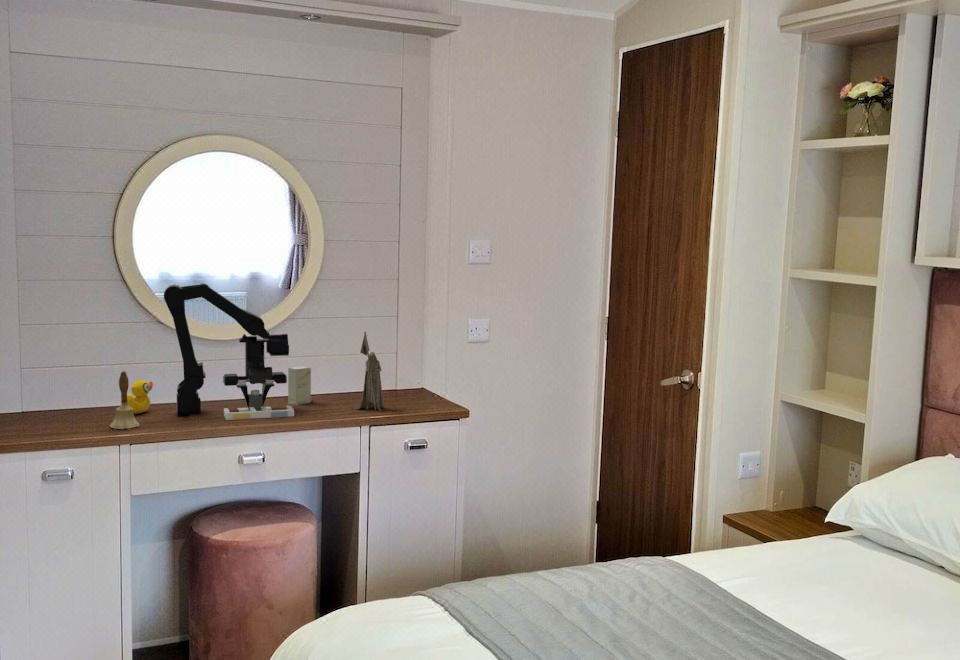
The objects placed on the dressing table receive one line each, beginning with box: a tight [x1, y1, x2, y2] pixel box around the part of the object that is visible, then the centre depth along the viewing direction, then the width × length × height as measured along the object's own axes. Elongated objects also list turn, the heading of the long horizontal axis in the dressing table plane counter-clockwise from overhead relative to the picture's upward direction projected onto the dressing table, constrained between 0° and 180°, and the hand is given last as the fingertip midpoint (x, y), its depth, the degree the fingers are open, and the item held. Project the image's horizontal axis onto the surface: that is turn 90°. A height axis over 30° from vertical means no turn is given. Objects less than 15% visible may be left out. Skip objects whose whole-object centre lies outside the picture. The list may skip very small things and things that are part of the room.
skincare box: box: [287, 365, 312, 406], centre depth 306 cm, size 6×4×12 cm
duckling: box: [127, 379, 154, 415], centre depth 288 cm, size 11×5×10 cm, turn 158°
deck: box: [237, 406, 273, 412], centre depth 294 cm, size 10×7×1 cm
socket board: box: [223, 404, 295, 421], centre depth 284 cm, size 20×11×2 cm, turn 110°
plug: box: [247, 389, 264, 411], centre depth 294 cm, size 4×4×6 cm
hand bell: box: [109, 370, 141, 429], centre depth 269 cm, size 8×8×16 cm
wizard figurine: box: [354, 331, 386, 412], centre depth 300 cm, size 10×8×25 cm
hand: (255, 406), depth 294 cm, fingers closed on plug, 4 cm apart
